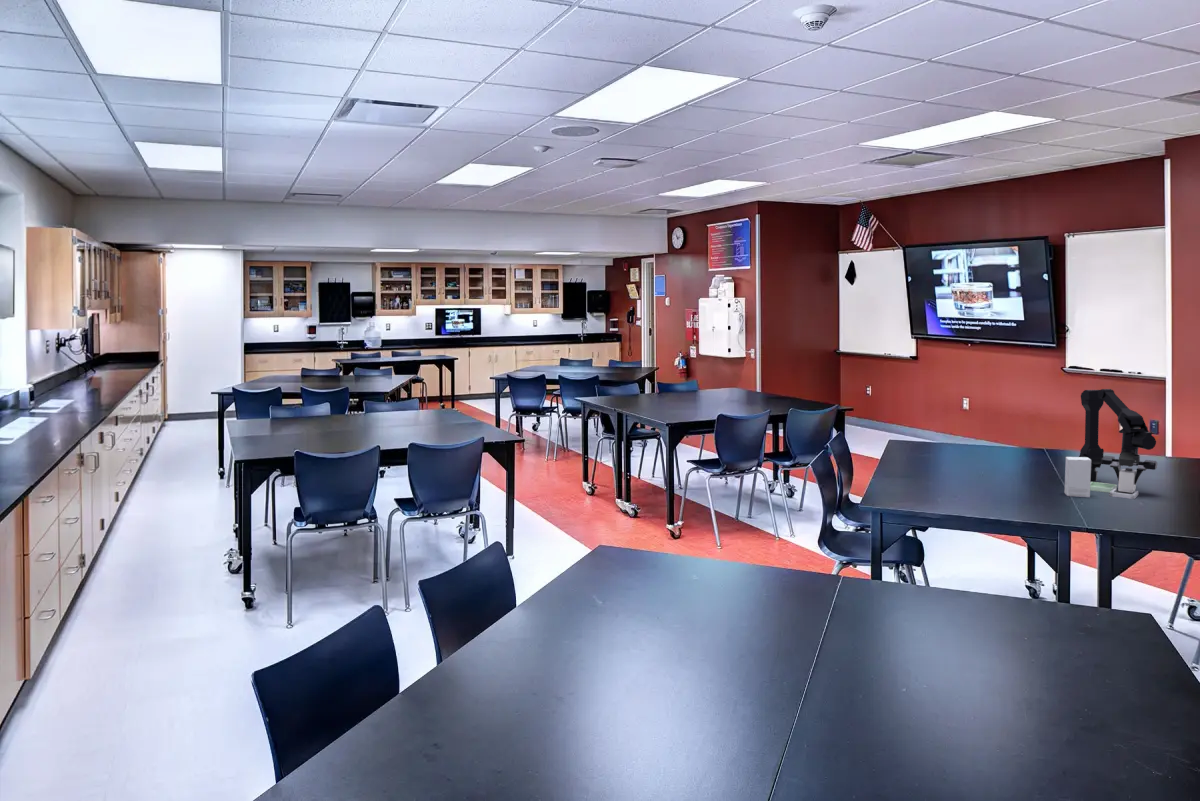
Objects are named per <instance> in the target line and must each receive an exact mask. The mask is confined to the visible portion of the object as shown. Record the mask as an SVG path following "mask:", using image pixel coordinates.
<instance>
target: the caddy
mask: <svg viewBox="0 0 1200 801" xmlns="http://www.w3.org/2000/svg"><path fill="white" fill-rule="evenodd" d="M1136 471H1137V469H1133V468H1131V467H1125V468H1122V469H1121V471H1120V472H1119V481H1118V484H1117V488H1118V489H1117V492H1120V493H1129V494H1133V493H1134V492H1135V491H1137V490H1136V487H1137V484H1136V485H1134V482H1135V476H1136Z"/></svg>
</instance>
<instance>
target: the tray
mask: <svg viewBox="0 0 1200 801" xmlns="http://www.w3.org/2000/svg"><path fill="white" fill-rule="evenodd" d="M1117 488H1118V484H1115V483H1106V482H1098V481H1095V482H1090V492H1091V491H1092V492H1098V493H1100V492H1101V493H1109V492H1110V491H1112V490H1113V489H1117ZM1117 490H1118V489H1117Z"/></svg>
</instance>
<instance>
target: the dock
mask: <svg viewBox="0 0 1200 801" xmlns="http://www.w3.org/2000/svg"><path fill="white" fill-rule="evenodd" d="M1108 496H1109V497H1114V498H1121V499H1122V498H1124V499H1130V500H1135V499H1136V498H1137V497H1138V496H1139V490H1135V491H1134V492H1133V493H1128V492H1120V491H1118V489H1113V490H1112V491H1110V492H1109V494H1108Z"/></svg>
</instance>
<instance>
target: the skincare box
mask: <svg viewBox="0 0 1200 801" xmlns="http://www.w3.org/2000/svg"><path fill="white" fill-rule="evenodd" d="M1091 461H1092V460H1091V459H1089V458H1088V457H1079V456H1065V469H1064V470H1065V472H1064V494H1065V495H1066V496H1067V497H1077V498H1079V497H1081V498H1091V491H1090V483H1091V482H1090V480H1091Z"/></svg>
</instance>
